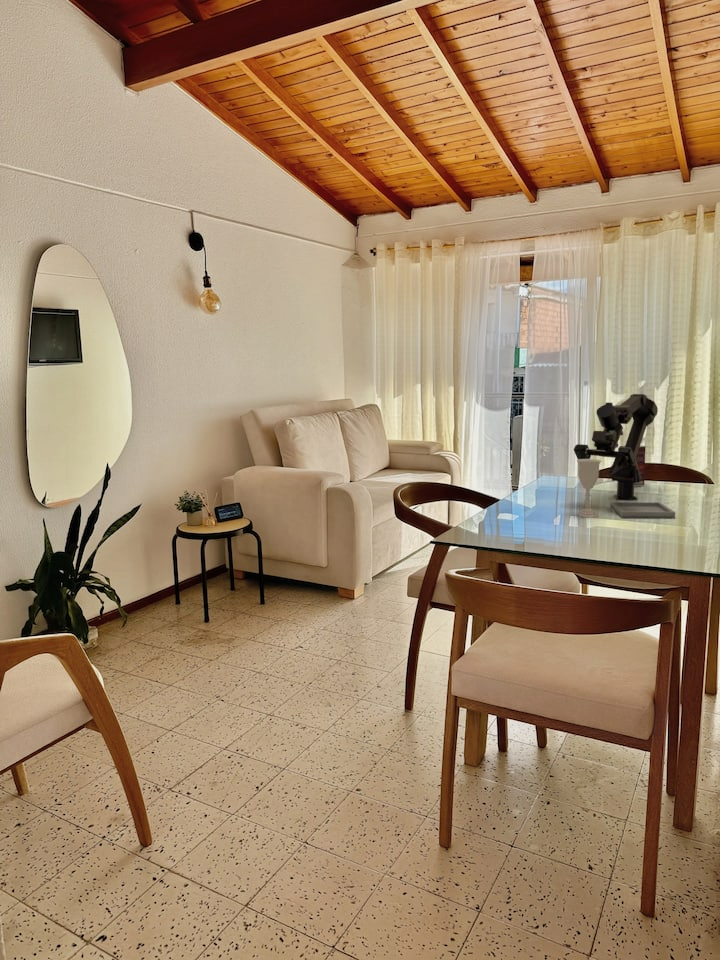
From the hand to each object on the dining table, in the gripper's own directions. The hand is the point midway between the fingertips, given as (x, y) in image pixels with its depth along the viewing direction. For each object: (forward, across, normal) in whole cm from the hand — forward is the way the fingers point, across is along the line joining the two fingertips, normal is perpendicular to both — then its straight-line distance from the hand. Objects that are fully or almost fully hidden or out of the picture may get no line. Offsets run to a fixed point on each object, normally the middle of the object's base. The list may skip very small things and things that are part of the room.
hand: (595, 474), depth 222 cm
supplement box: (-27, -6, +45) cm, 53 cm away
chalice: (+14, 0, +5) cm, 14 cm away
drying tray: (+4, +13, +14) cm, 19 cm away
